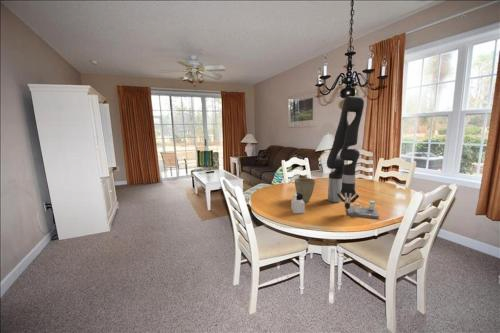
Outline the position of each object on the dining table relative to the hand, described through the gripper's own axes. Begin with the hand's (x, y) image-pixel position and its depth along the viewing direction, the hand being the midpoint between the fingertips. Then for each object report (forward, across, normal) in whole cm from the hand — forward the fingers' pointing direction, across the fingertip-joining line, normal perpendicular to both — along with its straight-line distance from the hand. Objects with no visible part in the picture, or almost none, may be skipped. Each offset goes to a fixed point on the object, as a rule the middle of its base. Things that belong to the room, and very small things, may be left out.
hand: (347, 208), depth 134 cm
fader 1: (+2, +5, 0) cm, 6 cm away
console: (+3, +9, +4) cm, 10 cm away
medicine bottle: (+3, -30, -5) cm, 30 cm away
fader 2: (+1, +15, +7) cm, 16 cm away
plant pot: (+3, -28, +18) cm, 34 cm away
